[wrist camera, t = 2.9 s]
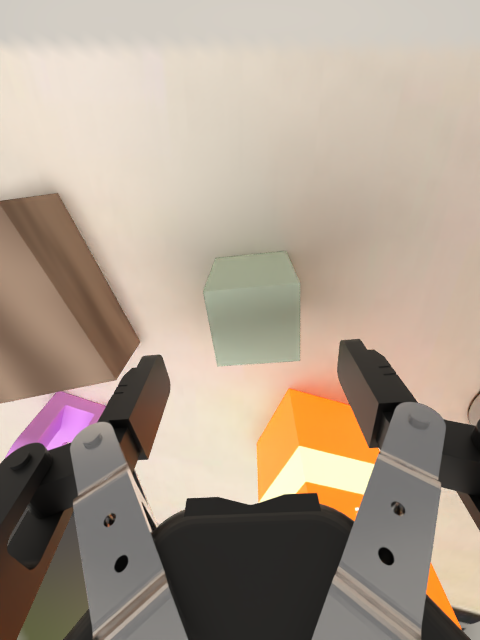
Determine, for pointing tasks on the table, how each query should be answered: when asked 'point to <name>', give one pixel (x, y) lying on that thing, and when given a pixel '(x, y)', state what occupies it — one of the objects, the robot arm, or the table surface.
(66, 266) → the plate
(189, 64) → the table surface
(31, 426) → the bracket
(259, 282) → the sage block
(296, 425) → the orange juice
